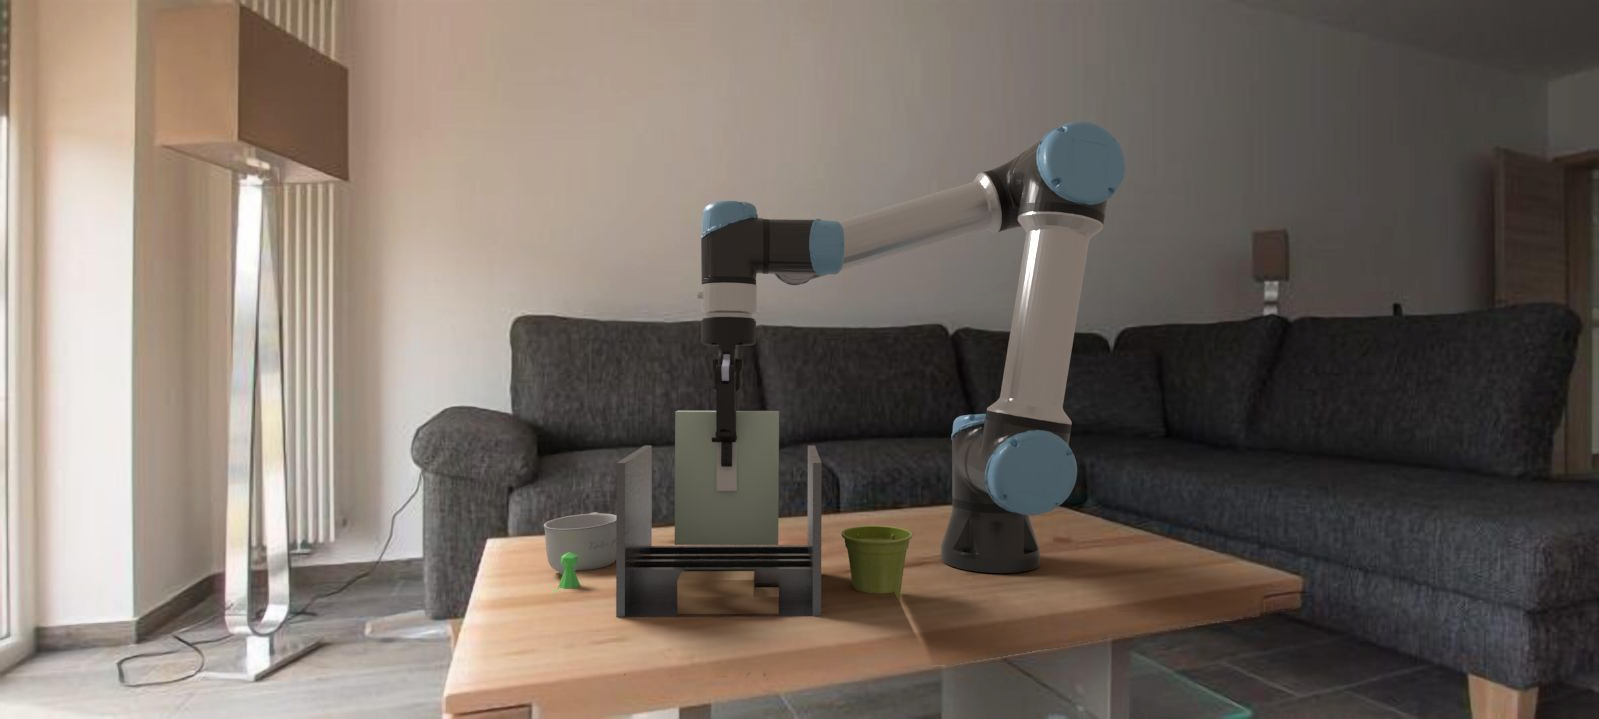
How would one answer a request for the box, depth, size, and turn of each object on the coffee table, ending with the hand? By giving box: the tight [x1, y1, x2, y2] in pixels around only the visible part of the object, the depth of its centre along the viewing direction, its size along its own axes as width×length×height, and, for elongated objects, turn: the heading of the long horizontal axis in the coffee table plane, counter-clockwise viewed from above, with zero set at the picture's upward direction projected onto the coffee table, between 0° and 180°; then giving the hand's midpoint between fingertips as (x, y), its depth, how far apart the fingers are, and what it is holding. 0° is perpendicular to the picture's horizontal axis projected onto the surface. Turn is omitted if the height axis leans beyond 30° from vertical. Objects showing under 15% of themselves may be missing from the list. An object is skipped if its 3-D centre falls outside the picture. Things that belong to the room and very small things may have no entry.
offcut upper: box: [677, 571, 755, 597], centre depth 99 cm, size 9×4×2 cm, turn 91°
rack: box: [615, 445, 823, 618], centre depth 105 cm, size 24×20×20 cm
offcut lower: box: [677, 587, 779, 614], centre depth 99 cm, size 12×4×2 cm, turn 91°
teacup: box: [543, 511, 616, 576], centre depth 123 cm, size 14×11×8 cm
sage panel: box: [674, 410, 780, 546], centre depth 112 cm, size 14×2×18 cm, turn 91°
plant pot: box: [840, 525, 913, 600], centre depth 108 cm, size 9×9×9 cm
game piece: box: [552, 552, 581, 595], centre depth 109 cm, size 4×4×6 cm
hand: (727, 488), depth 112 cm, fingers closed on sage panel, 2 cm apart
